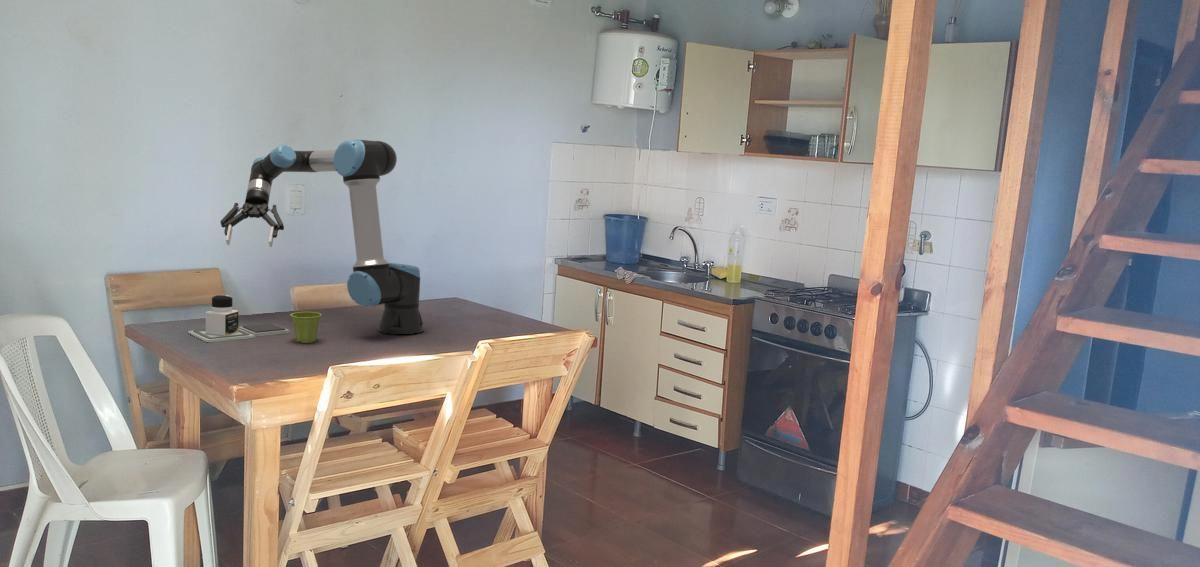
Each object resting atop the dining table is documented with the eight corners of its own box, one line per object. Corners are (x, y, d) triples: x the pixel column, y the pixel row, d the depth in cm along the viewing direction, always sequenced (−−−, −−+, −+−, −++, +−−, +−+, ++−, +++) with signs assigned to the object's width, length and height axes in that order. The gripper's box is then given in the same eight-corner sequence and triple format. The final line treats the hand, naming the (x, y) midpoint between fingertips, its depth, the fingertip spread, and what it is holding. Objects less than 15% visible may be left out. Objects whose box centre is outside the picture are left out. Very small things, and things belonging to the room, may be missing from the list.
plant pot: (292, 345, 286) (293, 317, 285) (287, 338, 295) (288, 312, 293) (323, 343, 291) (324, 316, 289) (317, 337, 299) (318, 311, 298)
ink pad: (289, 333, 302) (289, 329, 302) (254, 336, 294) (254, 332, 294) (273, 326, 311) (273, 322, 311) (238, 329, 302) (238, 325, 302)
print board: (254, 337, 293) (254, 334, 293) (206, 342, 282) (206, 339, 282) (234, 329, 303) (234, 325, 303) (187, 333, 293) (187, 330, 293)
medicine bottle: (225, 336, 289) (225, 298, 287) (205, 334, 290) (205, 296, 288) (238, 332, 296) (238, 295, 294) (218, 329, 297) (218, 293, 295)
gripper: (296, 204, 326) (289, 251, 313) (221, 200, 321) (211, 248, 309) (294, 190, 320) (286, 237, 307) (218, 186, 315) (207, 234, 303)
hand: (249, 243), depth 308 cm, fingers open, 13 cm apart
